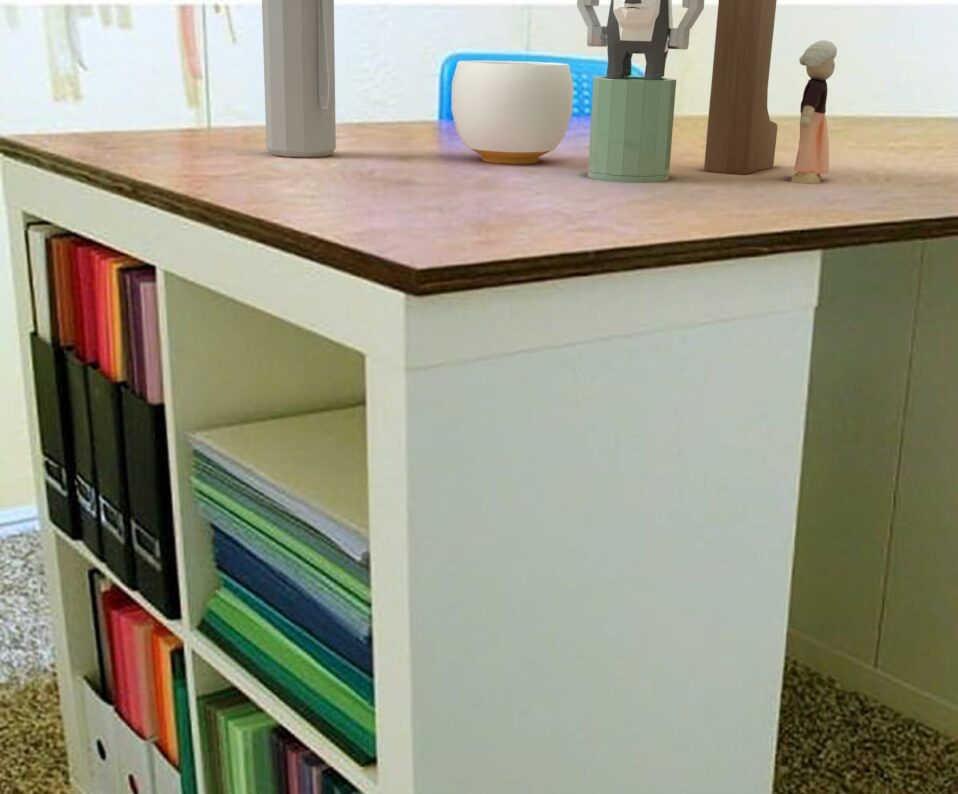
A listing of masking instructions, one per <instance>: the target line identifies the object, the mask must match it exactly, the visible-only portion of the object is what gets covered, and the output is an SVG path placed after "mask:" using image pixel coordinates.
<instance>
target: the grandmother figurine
mask: <svg viewBox="0 0 958 794" xmlns="http://www.w3.org/2000/svg"><path fill="white" fill-rule="evenodd" d="M837 54H838V48H837V46H836V45H835V43H834V42H833V41H829V40H825V39H824V40H823V39H822V40H817V41H816V42H814V43H812V44H810V45H809V46H808V48H806V49H805V50H804V52H803V54H802V55H801V56H800V57H799V60H798V61H799V64H800V65H801V66H805V69H806V74H807V76H808V77H809V80H808V81H807V83H806V84H805V86H804V90H803V93H802V94H803V95H802V100H801V102H800V119H799V139H798V148H797V154H796V158H795V163H794V171H797V172H795V173H794V175H793V176H792V177H791V178H790V182H793V183H799V184H809V185H810V184H811V185H812V184H821V181H822V180H823V179H822V175H825V174H828V173H829V172H830V144H829V143H830V141H829V131H828V122H827V116H826V112H827V108H826V107H827V100H828V83H827V80H828V79H830V78H831V77H832V75H833V74H834V72H835V68H836V63H835V59H836V56H837Z"/></svg>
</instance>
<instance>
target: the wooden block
mask: <svg viewBox="0 0 958 794" xmlns="http://www.w3.org/2000/svg"><path fill="white" fill-rule="evenodd" d="M777 1H778V0H718V2H717V3H718V5H717V16H716V25H715V26H716V27H715V29H716V30H715V38H714V50H713V61H712V62H713V63H712V75H711V83H710V94H709V95H710V96H709V104H708V105H709V107H708V116H707V117H708V118H707V128H706V129H707V131H706V141H705V153H704V167H703V168H704V171H705V172H708V173H719V174H720V173H721V174H731V175H732V174H733V175H741V176H744V175H748V174H753V173H756V172H760V171H764V170H767V169H771V168H773V167H774V164H775V155H776V145H777V137H778V129H779V128H778V124H777V123H776V122H775V121H772V120H771V119H770V113H769V110H768V93H769V92H768V89H769V80H770V79H769V78H770V70H771V61H772V60H771V59H772V51H773V41H774V40H773V39H774V31H775V19H776V10H777Z"/></svg>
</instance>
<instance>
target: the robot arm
mask: <svg viewBox="0 0 958 794" xmlns="http://www.w3.org/2000/svg"><path fill="white" fill-rule="evenodd" d="M681 3H682V4H681V7H682V8H684V9H687V10H686V12H685V13H684V15H683V16H682V19H681V21H680V22H679V24H678V26H677V27H673V28H669V30H668V37H669V40H668V49H669V50H688V49H689V45H690V35H691V34H690V33H691V29H692V28H693V26H694V25H695V24H696V22H697V20H698V18H699V17H700V15H701V14H702V12H703V11H704V9H705V0H682V2H681ZM599 6H600V0H576V7H577V9H578V11H579V13H580V15H581V18H582V20H583V21H584V24H585V26H587V29H586V30H587V31H586V32H587V33H586V45H587V47H591V48H592V47H593V48H594V47H598V48H603V47H604V48H606V47H607V25H606V26H605V25H601V22H600V20H599V18H598V15H597V13H596V10H595V8H594V7H599Z"/></svg>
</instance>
